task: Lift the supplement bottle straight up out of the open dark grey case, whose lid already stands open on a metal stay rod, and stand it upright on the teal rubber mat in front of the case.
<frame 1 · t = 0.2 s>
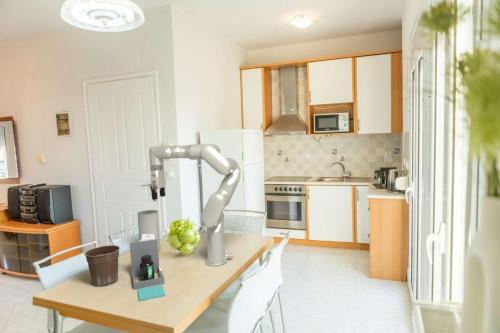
hand: (158, 197, 192), 37 cm above the table, tool pointing down, fingers open, 9 cm apart
supplement bottle: (147, 280, 168), resting in case
cylinder vase: (150, 250, 214), on the table
case: (147, 279, 168), on the table
ink box: (148, 259, 197), on the table
mat: (151, 293, 152), on the table
plant pot: (104, 282, 167), on the table
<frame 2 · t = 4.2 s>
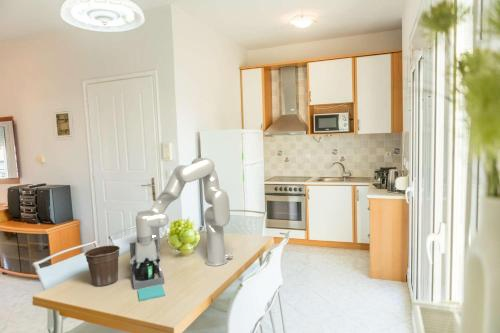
hand: (147, 273, 167), 3 cm above the table, tool pointing down, fingers closed on supplement bottle, 6 cm apart
supplement bottle: (147, 280, 168), resting in case, touching gripper
everything else where it was.
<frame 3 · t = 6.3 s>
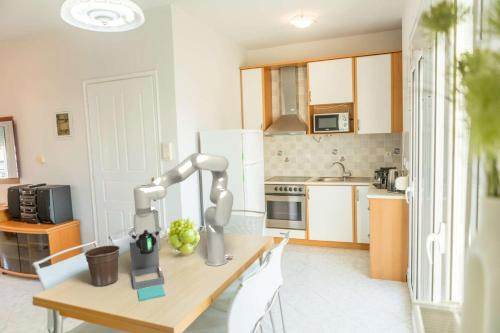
hand: (146, 245, 167), 17 cm above the table, tool pointing down, fingers closed on supplement bottle, 6 cm apart
supplement bottle: (147, 252, 167), point 14 cm above the table, touching gripper
everything else where it was.
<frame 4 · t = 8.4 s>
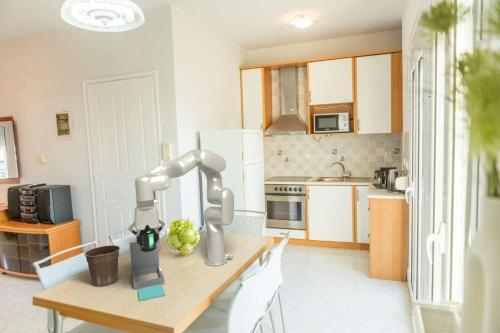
hand: (148, 242, 150), 24 cm above the table, tool pointing down, fingers closed on supplement bottle, 6 cm apart
supplement bottle: (148, 250, 151), point 20 cm above the table, touching gripper
everything else where it was.
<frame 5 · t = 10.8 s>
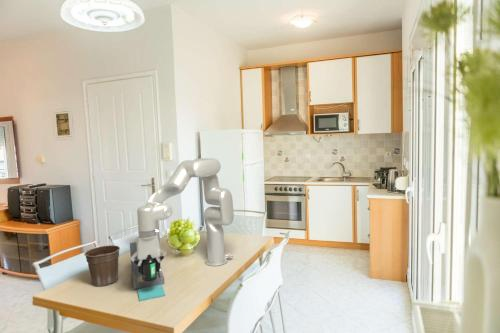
hand: (149, 271, 151), 10 cm above the table, tool pointing down, fingers closed on supplement bottle, 6 cm apart
supplement bottle: (150, 279, 151), point 7 cm above the table, touching gripper
everything else where it was.
when the fingers open (5 cm above the table, at t = 12.8 s): supplement bottle stays where it is, resting on mat.
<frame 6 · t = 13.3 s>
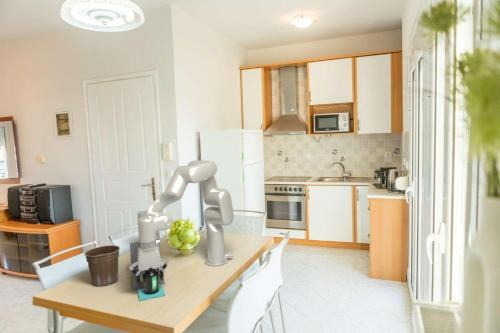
hand: (150, 281, 151), 6 cm above the table, tool pointing down, fingers open, 9 cm apart
supplement bottle: (151, 291, 152), point 1 cm above the table, touching mat
everything else where it was.
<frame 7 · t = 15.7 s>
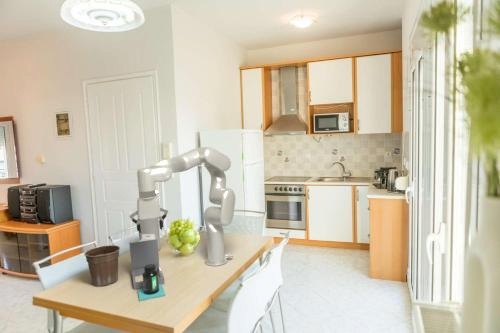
hand: (150, 230, 156), 27 cm above the table, tool pointing down, fingers open, 9 cm apart
nothing on the table moved.
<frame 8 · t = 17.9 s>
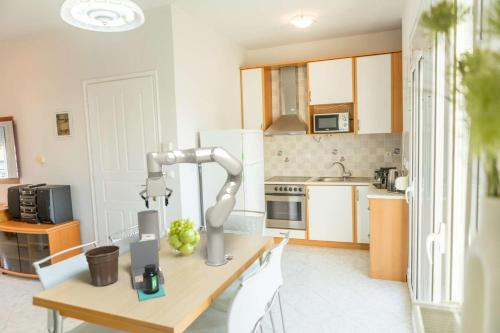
hand: (157, 207, 178), 34 cm above the table, tool pointing down, fingers open, 9 cm apart
nothing on the table moved.
at the end: supplement bottle inside the target area on the mat (0.2 cm from its centre), point 0.6 cm above the mat's base; supplement bottle tilted 0°; the gripper is holding nothing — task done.
